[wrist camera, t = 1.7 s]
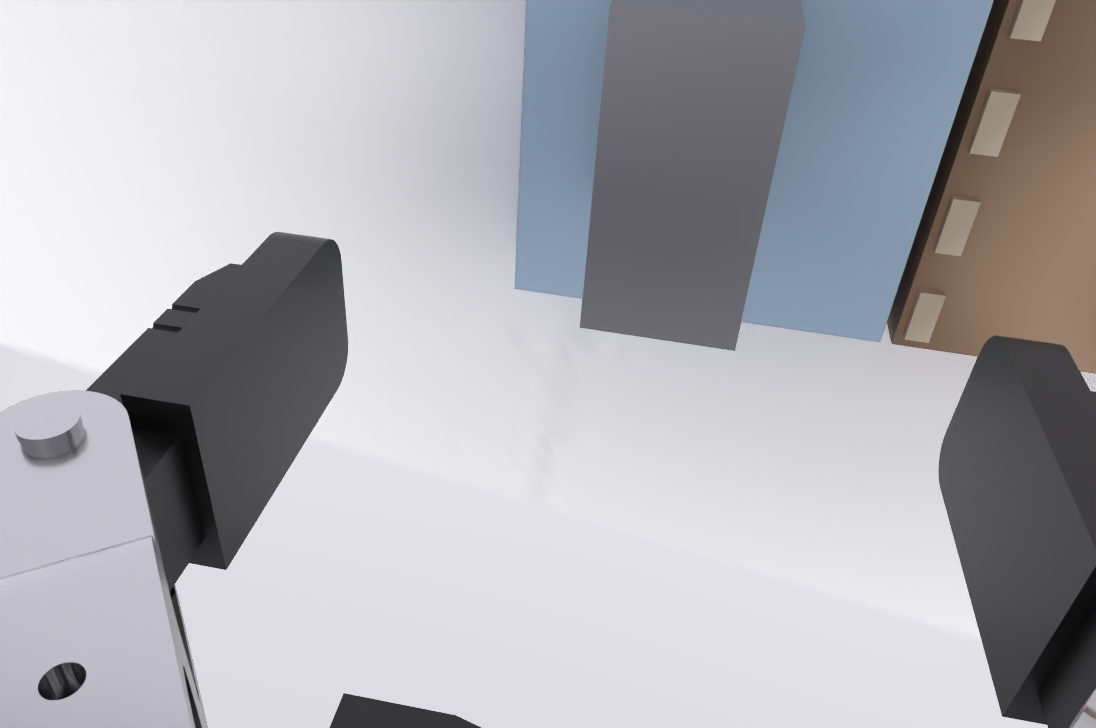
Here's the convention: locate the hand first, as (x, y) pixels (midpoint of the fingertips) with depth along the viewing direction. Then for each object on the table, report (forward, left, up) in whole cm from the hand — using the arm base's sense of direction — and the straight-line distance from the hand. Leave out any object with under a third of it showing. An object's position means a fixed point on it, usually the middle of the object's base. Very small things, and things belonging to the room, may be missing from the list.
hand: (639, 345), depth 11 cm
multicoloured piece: (-1, 0, -13) cm, 13 cm away
